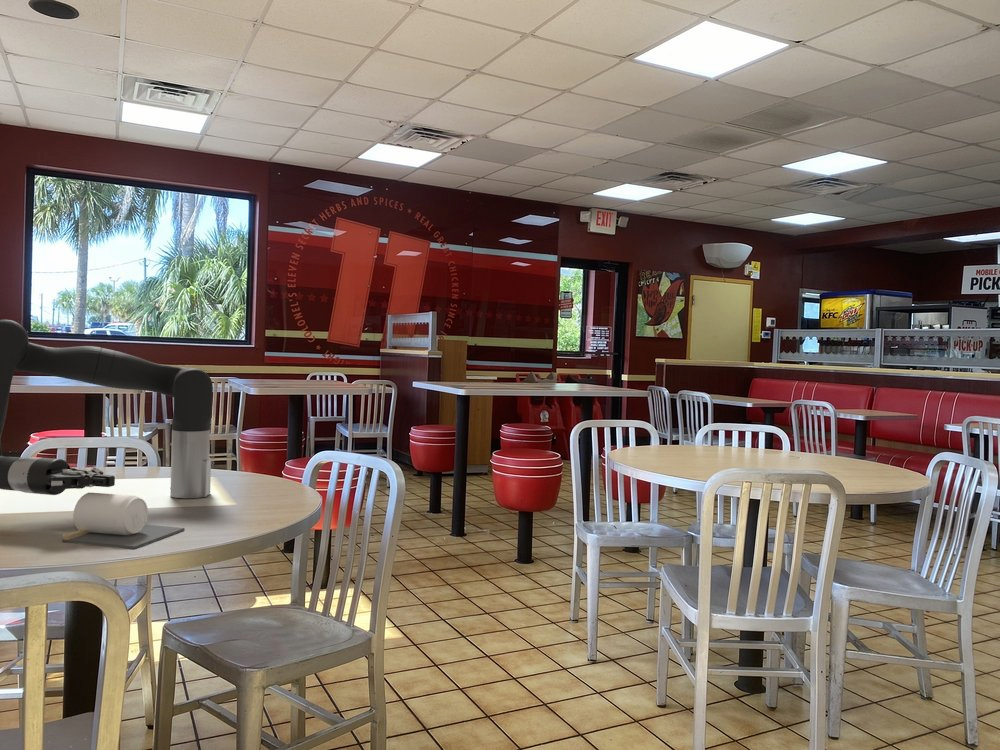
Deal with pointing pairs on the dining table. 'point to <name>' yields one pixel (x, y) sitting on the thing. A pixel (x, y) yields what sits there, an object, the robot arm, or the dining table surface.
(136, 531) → the beverage can
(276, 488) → the dining table surface
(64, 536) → the mat
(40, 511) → the dining table surface
